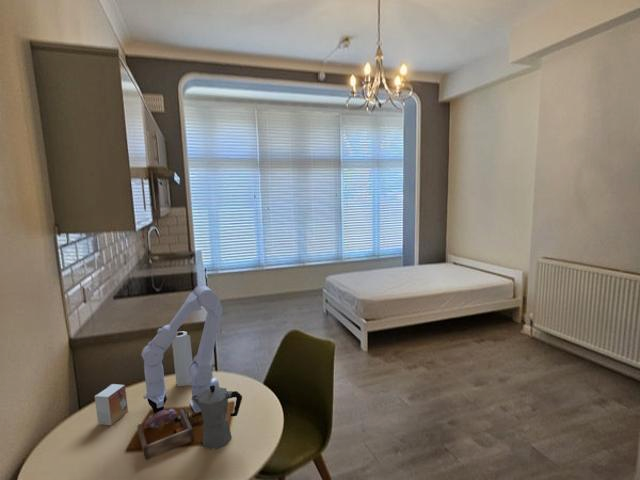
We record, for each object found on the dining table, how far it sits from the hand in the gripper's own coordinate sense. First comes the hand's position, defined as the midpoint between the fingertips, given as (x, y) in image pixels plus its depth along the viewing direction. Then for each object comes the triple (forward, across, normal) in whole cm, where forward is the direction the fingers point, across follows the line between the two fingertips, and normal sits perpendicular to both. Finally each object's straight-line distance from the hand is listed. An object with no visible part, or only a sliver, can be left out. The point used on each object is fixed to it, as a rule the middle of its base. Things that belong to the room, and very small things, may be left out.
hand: (159, 416), depth 121 cm
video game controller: (+2, +4, 0) cm, 4 cm away
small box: (+2, -12, -13) cm, 18 cm away
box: (+1, +11, 0) cm, 11 cm away
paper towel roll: (+2, -20, +13) cm, 24 cm away
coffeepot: (+2, +22, +14) cm, 26 cm away
